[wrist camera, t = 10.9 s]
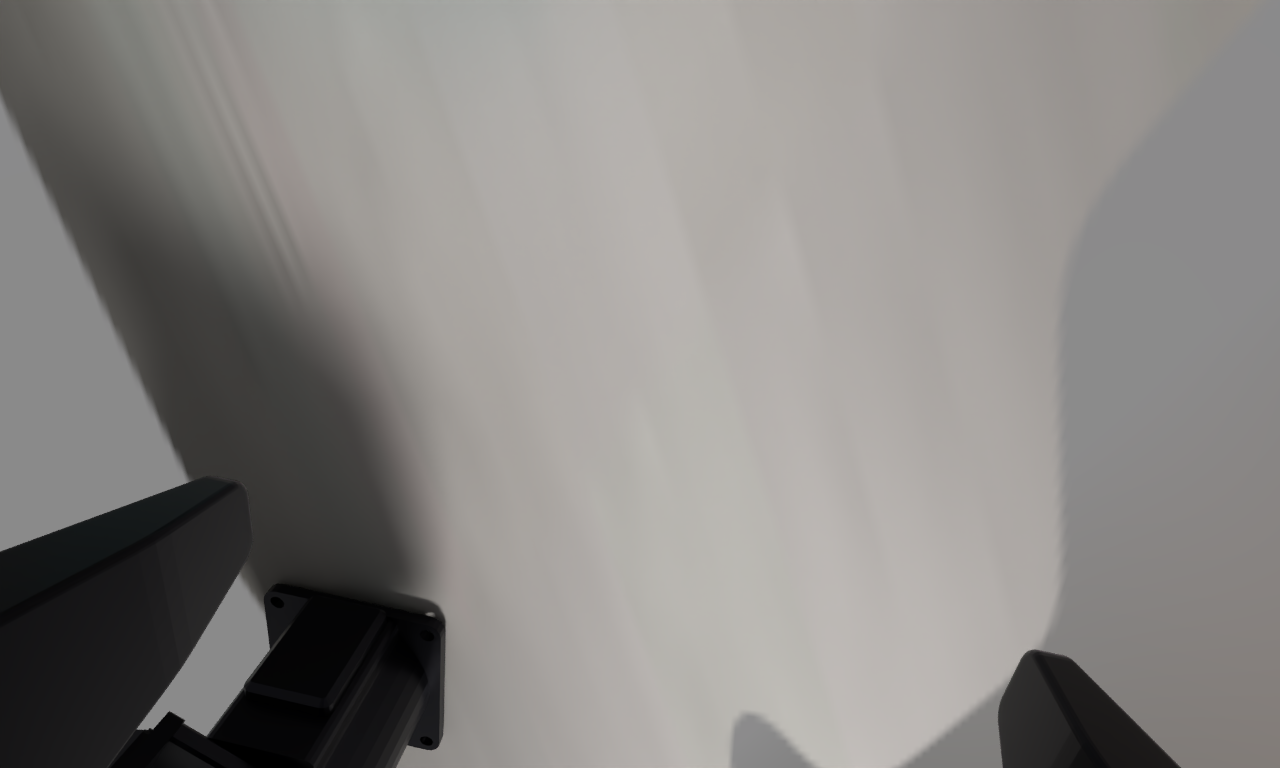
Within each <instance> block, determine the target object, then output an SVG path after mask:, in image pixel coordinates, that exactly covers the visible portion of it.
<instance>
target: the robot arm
mask: <svg viewBox="0 0 1280 768" xmlns="http://www.w3.org/2000/svg"><path fill="white" fill-rule="evenodd" d="M252 545H253V529H252V521H251V513H250V505H249V497H248V491H247V489H246V487H245V485H244V484H243V483H241V482H239V481H236V480H231V479H226V478H221V477H217V476H206V477H203V478H200V479H197V480H194V481H192V482H189V483H186V484H183V485H181V486H178V487H175V488H173V489H170V490H167V491H165V492H162V493H159V494H156V495H153V496H151V497H148V498H145V499H143V500H140V501H137V502H134V503H132V504H129V505H126V506H123V507H121V508H118V509H115V510H113V511H110V512H107V513H104V514H102V515H99V516H96V517H94V518H91V519H88V520H85V521H83V522H80V523H77V524H74V525H72V526H69V527H66V528H64V529H61V530H58V531H55V532H52V533H50V534H47V535H44V536H42V537H39V538H36V539H33V540H31V541H28V542H25V543H23V544H20V545H17V546H14V547H12V548H9V549H6V550H3V551H1V552H0V768H396V767H397V765H398V762H399V760H400V758H401V756H402V754H403V752H404V750H405V748H406V746H407V745H409V746H413V747H417V748H421V749H426V750H434V749H436V748H438V746H439V744H440V742H441V740H442V737H443V716H444V666H445V627H444V625H443V624H442V622H440V621H439V620H438V619H436V618H433V617H429V616H425V615H420V614H416V613H411V612H407V611H402V610H398V609H393V608H389V607H384V606H379V605H375V604H370V603H366V602H361V601H357V600H352V599H348V598H343V597H339V596H334V595H329V594H325V593H320V592H316V591H311V590H307V589H302V588H298V587H293V586H289V585H284V584H275V585H273V586H272V587H271V588H270V590H269V591H268V592H267V593H266V594H265V596H264V604H265V612H266V620H267V628H268V636H269V644H270V650H269V652H268V653H267V654H266V656H265V657H264V658H263V660H262V661H261V662H260V664H259V665H258V666H257V668H256V669H255V670H254V672H253V673H252V674H251V676H250V677H249V678H248V679H247V681H246V682H245V685H244V687H243V689H242V690H241V691H240V693H239V694H238V695H237V697H236V698H235V699H234V701H233V702H232V703H231V704H230V706H229V707H228V709H227V710H226V711H225V712H224V714H223V715H222V716H221V718H220V719H219V721H218V722H217V723H216V724H215V726H214V727H213V728H212V730H211V731H210V732H209V734H208V735H207V736H204V735H202V734H201V733H199V732H197V731H196V730H194V729H192V728H190V727H189V726H187V725H185V724H184V721H185V720H184V719H182V718H181V717H179V716H177V715H175V714H174V713H172V712H170V711H169V712H168V713H167V714H166V716H165V717H164V718H163V719H162V720H161V721H160V722H159V723H158V725H157V726H156V727H155V728H154V729H151V728H149V730H136V729H137V728H138V726H139V725H140V723H141V722H142V721H143V720H144V718H145V717H146V715H147V714H148V713H149V712H150V710H151V709H152V707H153V706H154V705H155V704H156V702H157V701H158V699H159V698H160V697H161V696H162V694H163V693H164V692H165V690H166V689H167V687H168V686H169V685H170V683H171V682H172V680H173V679H174V678H175V676H176V675H177V673H178V672H179V671H180V669H181V668H182V666H183V665H184V663H185V661H186V660H187V658H188V657H189V655H190V654H191V652H192V651H193V649H194V647H195V646H196V644H197V642H198V640H199V639H200V637H201V635H202V634H203V632H204V630H205V629H206V627H207V625H208V624H209V622H210V621H211V619H212V617H213V616H214V614H215V612H216V611H217V609H218V607H219V605H220V604H221V602H222V600H223V599H224V597H225V595H226V594H227V592H228V590H229V589H230V587H231V585H232V584H233V582H234V580H235V579H236V577H237V575H238V574H239V572H240V570H241V569H242V567H243V565H244V564H245V562H246V560H247V558H248V557H249V554H250V552H251V549H252ZM427 630H428V631H430V632H428V631H427ZM998 726H999V736H1000V746H1001V755H1002V765H1003V768H1181V767H1180V766H1179V765H1178V764H1177V763H1176V762H1175V761H1174V760H1173V759H1172V758H1171V757H1170V756H1168V754H1167V753H1166V752H1165V751H1164V750H1163V749H1162V748H1161V747H1160V746H1159V745H1158V744H1157V743H1156V742H1155V741H1153V739H1152V738H1151V737H1150V736H1148V734H1147V733H1146V732H1145V731H1144V730H1142V729H1141V727H1140V726H1139V725H1137V724H1136V722H1135V721H1134V720H1133V719H1131V718H1130V716H1129V715H1128V714H1126V712H1125V711H1124V710H1123V709H1122V708H1121V707H1119V706H1118V705H1117V704H1116V703H1115V702H1114V701H1113V700H1112V699H1111V698H1110V697H1109V696H1108V695H1107V694H1106V693H1105V692H1104V691H1103V690H1102V689H1101V688H1100V687H1099V686H1098V685H1097V684H1096V683H1095V682H1094V681H1093V680H1092V679H1091V678H1090V677H1089V676H1088V675H1087V674H1086V673H1085V672H1084V671H1083V670H1082V669H1081V668H1080V667H1079V666H1078V665H1077V664H1076V663H1075V662H1074V661H1073V660H1072V659H1070V658H1069V657H1066V656H1064V655H1059V654H1055V653H1050V652H1045V651H1040V650H1030V651H1027V652H1026V653H1025V654H1024V655H1023V657H1022V658H1021V660H1020V662H1019V664H1018V666H1017V668H1016V670H1015V672H1014V674H1013V676H1012V678H1011V680H1010V682H1009V684H1008V686H1007V688H1006V690H1005V692H1004V694H1003V696H1002V699H1001V702H1000V705H999V711H998Z"/></svg>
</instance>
